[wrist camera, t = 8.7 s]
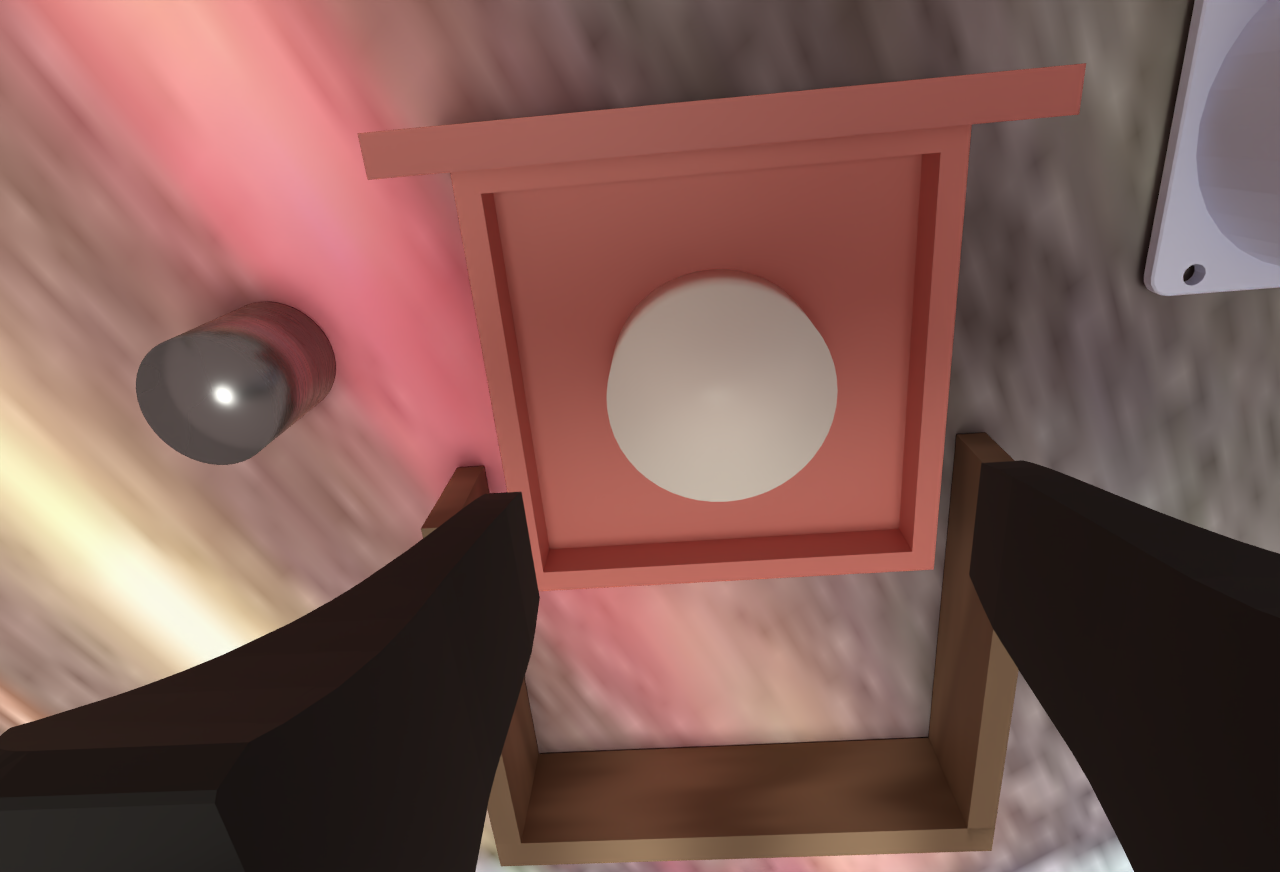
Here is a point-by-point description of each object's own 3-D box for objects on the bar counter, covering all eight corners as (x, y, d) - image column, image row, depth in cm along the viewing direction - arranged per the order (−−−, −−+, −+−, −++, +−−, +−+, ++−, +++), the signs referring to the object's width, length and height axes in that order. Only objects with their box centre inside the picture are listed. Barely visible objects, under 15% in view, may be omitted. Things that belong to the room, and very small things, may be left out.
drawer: (977, 78, 17) (1085, 63, 12) (938, 529, 21) (1007, 632, 17) (433, 130, 18) (357, 133, 13) (510, 554, 22) (474, 658, 18)
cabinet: (985, 432, 20) (1045, 490, 17) (949, 758, 25) (991, 850, 22) (457, 467, 21) (421, 528, 18) (520, 775, 26) (500, 865, 23)
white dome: (820, 459, 20) (836, 493, 18) (623, 473, 20) (618, 509, 18) (820, 259, 18) (839, 275, 16) (600, 279, 18) (593, 297, 16)
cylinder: (318, 297, 20) (250, 331, 16) (347, 408, 21) (289, 460, 18) (204, 306, 20) (115, 342, 17) (240, 415, 21) (163, 469, 18)
